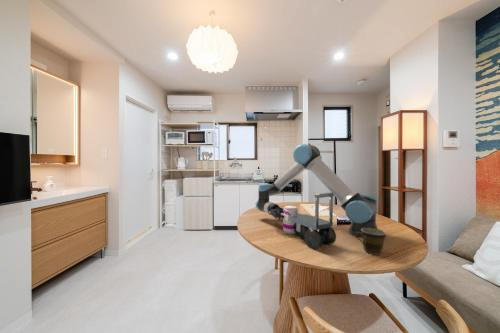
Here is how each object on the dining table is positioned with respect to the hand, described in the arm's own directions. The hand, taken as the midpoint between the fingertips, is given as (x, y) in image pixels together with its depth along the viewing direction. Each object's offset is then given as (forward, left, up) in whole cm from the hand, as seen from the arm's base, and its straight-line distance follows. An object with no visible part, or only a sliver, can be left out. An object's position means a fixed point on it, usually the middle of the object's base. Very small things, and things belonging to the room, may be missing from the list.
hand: (295, 217), depth 121 cm
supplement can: (+4, -2, -10) cm, 11 cm away
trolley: (-10, +6, -10) cm, 15 cm away
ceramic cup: (-37, +5, -10) cm, 38 cm away
